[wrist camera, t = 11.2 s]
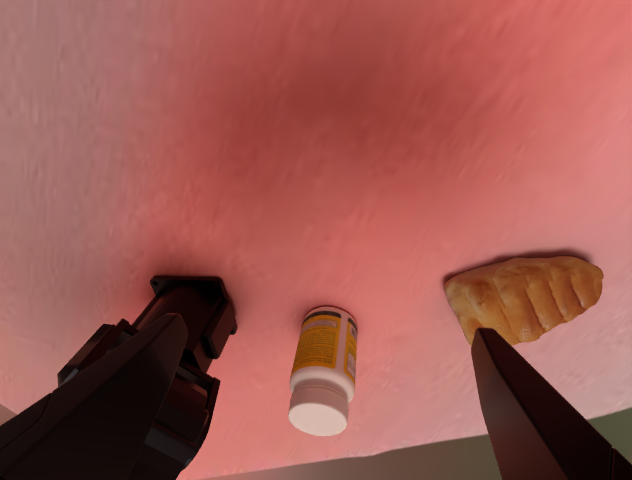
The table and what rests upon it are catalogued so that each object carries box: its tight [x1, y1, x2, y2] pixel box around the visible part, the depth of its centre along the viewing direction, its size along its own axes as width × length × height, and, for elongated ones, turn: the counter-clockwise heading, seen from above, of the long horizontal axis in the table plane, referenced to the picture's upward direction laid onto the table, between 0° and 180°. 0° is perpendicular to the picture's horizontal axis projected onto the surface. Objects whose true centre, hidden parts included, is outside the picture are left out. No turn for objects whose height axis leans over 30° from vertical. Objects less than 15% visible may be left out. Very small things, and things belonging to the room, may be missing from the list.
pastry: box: [444, 256, 604, 346], centre depth 22 cm, size 9×7×4 cm
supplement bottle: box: [288, 307, 357, 436], centre depth 25 cm, size 5×5×8 cm
